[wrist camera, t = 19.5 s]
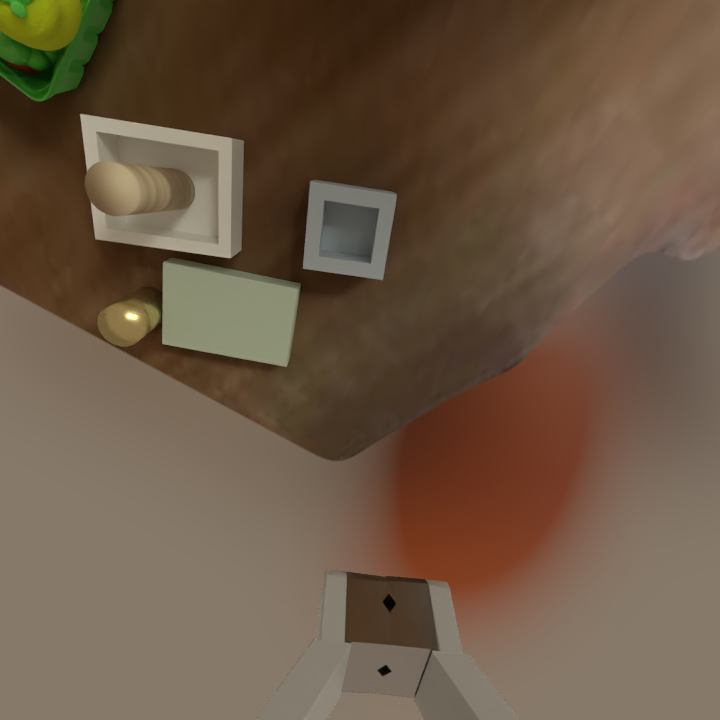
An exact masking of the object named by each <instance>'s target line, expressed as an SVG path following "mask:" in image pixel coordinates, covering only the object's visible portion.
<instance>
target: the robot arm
mask: <svg viewBox="0 0 720 720" xmlns="http://www.w3.org/2000/svg"><path fill="white" fill-rule="evenodd" d="M341 692H357V693H375V694H385V695H393V696H402V697H410V698H415V703H416V705H417V707H418V708H419V710H420V712H421V714H422V716H423V718H424V720H519V719H518V717H517V716H516V715H515V713H514V712H513V711H512V710H511V708H510V707H509V706H508V704H507V703H506V702H505V700H504V699H503V698H502V696H501V695H500V694H499V692H498V691H497V690H496V689H495V687H494V686H493V684H492V683H491V682H490V681H489V679H488V678H487V677H486V675H485V674H484V673H483V671H482V670H481V669H480V667H479V666H478V665H477V664H476V662H475V661H474V660H473V658H472V657H471V656H470V654H465V653H463V650H462V646H461V641H460V636H459V632H458V626H457V622H456V617H455V612H454V607H453V603H452V598H451V593H450V589H449V586H448V584H447V582H442V581H430V580H425V579H416V578H404V577H393V576H386V577H383V576H376V575H368V574H360V573H352V572H345V571H336V570H326V571H325V576H324V583H323V589H322V595H321V601H320V608H319V616H318V624H317V634H316V640H312V642H311V643H310V645H309V646H308V647H307V649H306V650H305V652H304V653H303V654H302V656H301V657H300V658H299V660H298V661H297V662H296V664H295V665H294V667H293V668H292V670H291V671H290V672H289V674H288V675H287V676H286V678H285V679H284V681H283V682H282V683H281V685H280V686H279V687H278V689H277V690H276V692H275V693H274V695H273V696H272V697H271V699H270V700H269V701H268V703H267V704H266V706H265V707H264V708H263V710H262V711H261V713H260V714H259V715H258V717H257V718H256V720H327V719H328V717H329V715H330V713H331V711H332V709H333V708H334V706H335V704H336V702H337V700H338V698H339V697H340V694H341Z"/></svg>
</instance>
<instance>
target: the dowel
mask: <svg viewBox="0 0 720 720" xmlns="http://www.w3.org/2000/svg"><path fill="white" fill-rule="evenodd" d="M85 190H86V193H87V196H88V198H89V199H90V201H91V202H92V204H93V205H94V206H95V207H96V208H97V209H98V210H100V211H101V212H103V213H105V214H107V215H111V216H125V215H134V214H143V213H152V212H161V211H171V210H180V209H185V208H187V207H188V206H190V205H191V203H192V202H193V200H194V197H195V187H194V184H193V182H192V180H191V179H190V177H189V176H188V175H187V174H186V173H184V172H183V171H181V170H178V169H172V168H163V167H154V166H146V165H137V164H128V163H119V162H110V161H101V162H97V163H95V164H93V165H92V166H91V167H90V168H89V169H88V171H87V173H86V176H85Z"/></svg>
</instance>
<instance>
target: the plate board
mask: <svg viewBox="0 0 720 720" xmlns="http://www.w3.org/2000/svg"><path fill="white" fill-rule="evenodd" d="M300 287H301V283H297V282H292V281H287V280H282V279H277V278H272V277H267V276H262V275H257V274H252V273H247V272H242V271H237V270H232V269H227V268H222V267H218V266H213V265H208V264H203V263H198V262H193V261H188V260H183V259H178V258H173V257H172V258H170V259H168V260H166V261H164V262H163V313H162V344H165V345H170V346H176V347H181V348H187V349H192V350H198V351H203V352H208V353H214V354H219V355H225V356H230V357H236V358H241V359H246V360H252V361H257V362H263V363H268V364H274V365H279V366H284V367H287V364H288V361H289V359H290V353H291V346H292V340H293V333H294V327H295V320H296V313H297V307H298V300H299V294H300Z"/></svg>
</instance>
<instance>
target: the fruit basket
mask: <svg viewBox="0 0 720 720" xmlns="http://www.w3.org/2000/svg"><path fill="white" fill-rule="evenodd" d="M113 1H115V0H0V75H1V76H2V77H3V78H4V79H6V80H7V81H8V82H10V83H11V84H12V85H14V86H15V87H16V88H17V89H19V90H20V91H21V92H23V93H24V94H25V95H27V96H28V97H29V98H31V99H33V100H35V101H38V102H40V101H44V100H47V99H49V98H51V97H52V96H54V95H55V94H59V93H62V92H66V91H70V90H73V89H76V88H77V87H78V85H79V83H80V81H81V78H82V76H83V74H84V65H85V64H86V63H87V62H88V61H89V60H90V59H91V56H92V54H93V52H94V50H95V48H96V45H97V43H98V34H100V33H101V32H102V31H103V30H104V28H105V26H106V24H107V21H108V19H109V17H110V15H111V12H112V7H113V3H112V2H113Z"/></svg>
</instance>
